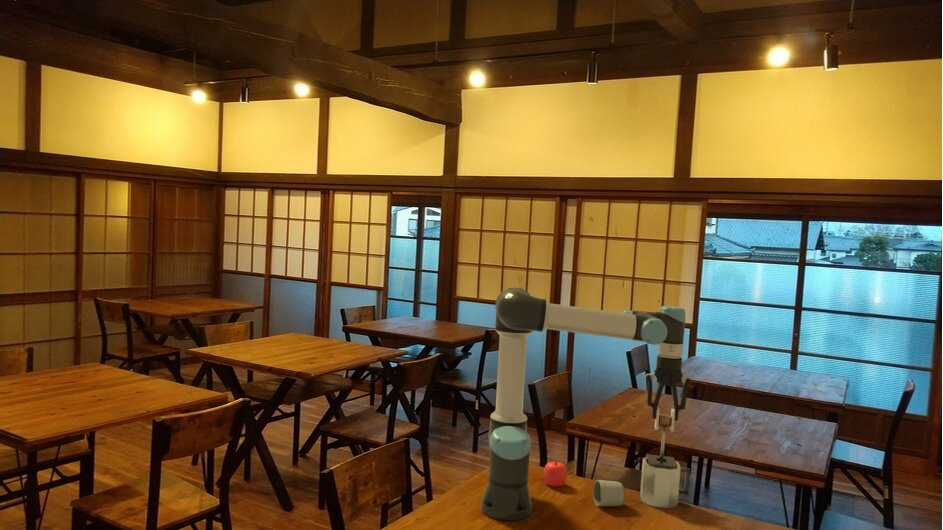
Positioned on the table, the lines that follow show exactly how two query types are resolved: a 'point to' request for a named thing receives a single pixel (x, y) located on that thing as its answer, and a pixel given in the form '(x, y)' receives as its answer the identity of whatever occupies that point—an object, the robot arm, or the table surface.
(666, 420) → the plunger
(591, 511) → the table surface
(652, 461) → the carafe
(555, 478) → the apple
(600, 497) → the ceramic mug
